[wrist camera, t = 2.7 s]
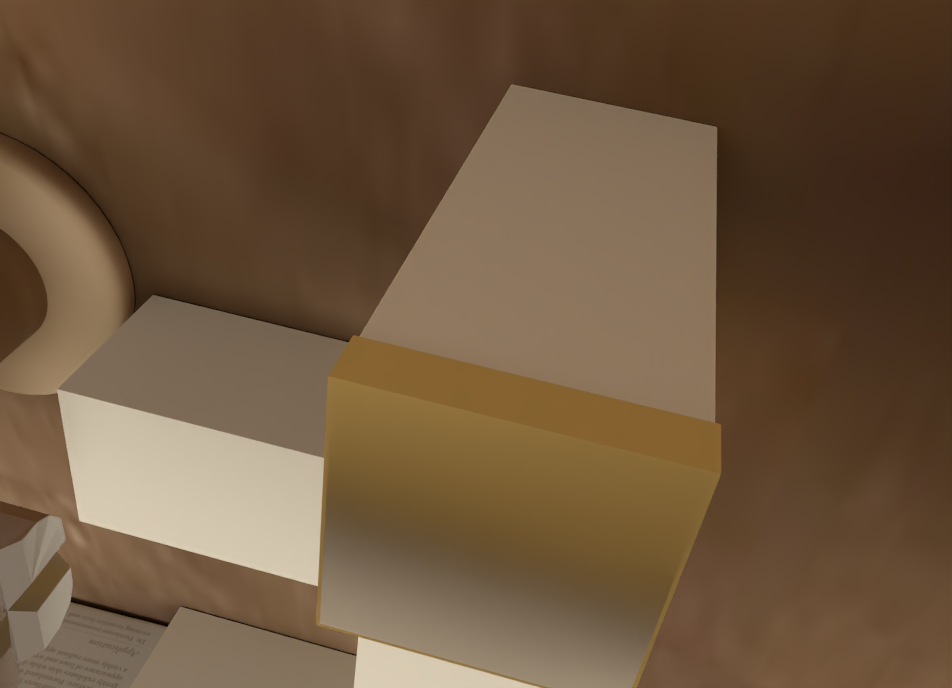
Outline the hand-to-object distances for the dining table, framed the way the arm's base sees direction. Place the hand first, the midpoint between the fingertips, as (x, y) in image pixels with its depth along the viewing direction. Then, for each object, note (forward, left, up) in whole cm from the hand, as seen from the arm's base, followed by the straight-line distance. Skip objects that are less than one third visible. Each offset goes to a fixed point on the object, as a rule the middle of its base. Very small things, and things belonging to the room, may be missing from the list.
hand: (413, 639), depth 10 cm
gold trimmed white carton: (-1, 0, -11) cm, 11 cm away
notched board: (+3, +12, -11) cm, 16 cm away
